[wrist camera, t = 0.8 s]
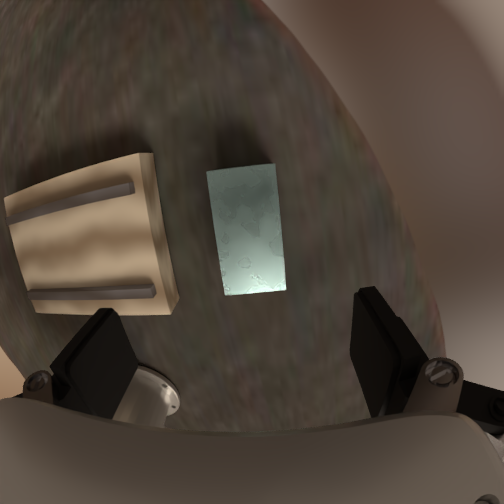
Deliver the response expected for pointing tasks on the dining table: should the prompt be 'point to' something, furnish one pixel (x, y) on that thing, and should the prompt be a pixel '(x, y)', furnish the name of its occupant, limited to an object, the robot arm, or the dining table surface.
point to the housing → (248, 228)
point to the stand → (95, 240)
